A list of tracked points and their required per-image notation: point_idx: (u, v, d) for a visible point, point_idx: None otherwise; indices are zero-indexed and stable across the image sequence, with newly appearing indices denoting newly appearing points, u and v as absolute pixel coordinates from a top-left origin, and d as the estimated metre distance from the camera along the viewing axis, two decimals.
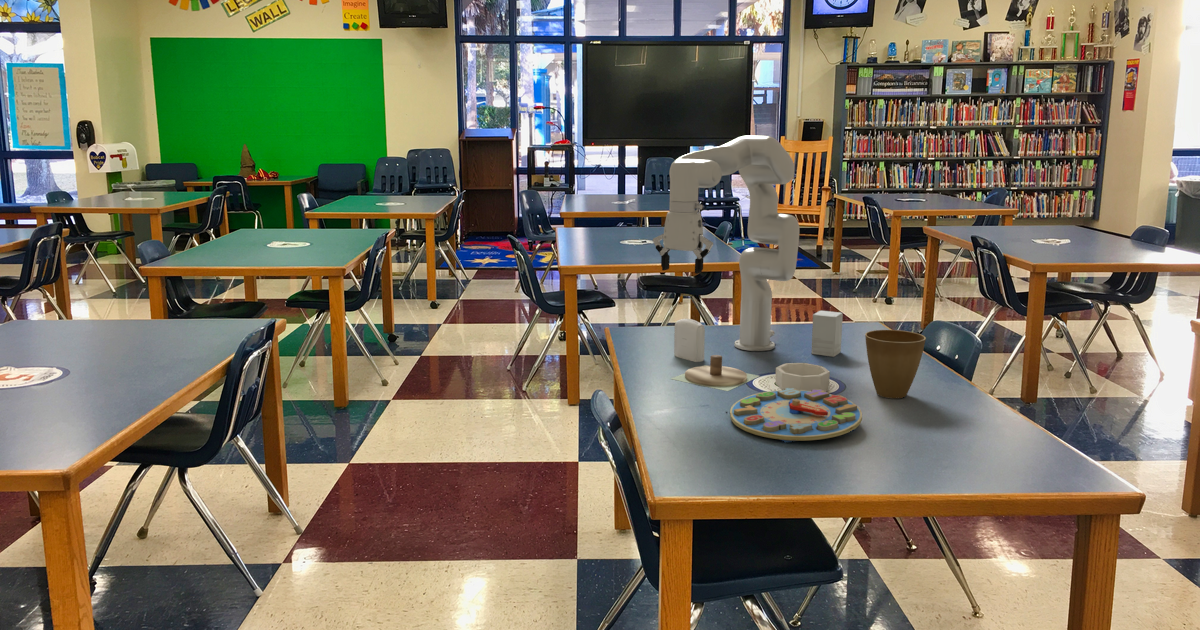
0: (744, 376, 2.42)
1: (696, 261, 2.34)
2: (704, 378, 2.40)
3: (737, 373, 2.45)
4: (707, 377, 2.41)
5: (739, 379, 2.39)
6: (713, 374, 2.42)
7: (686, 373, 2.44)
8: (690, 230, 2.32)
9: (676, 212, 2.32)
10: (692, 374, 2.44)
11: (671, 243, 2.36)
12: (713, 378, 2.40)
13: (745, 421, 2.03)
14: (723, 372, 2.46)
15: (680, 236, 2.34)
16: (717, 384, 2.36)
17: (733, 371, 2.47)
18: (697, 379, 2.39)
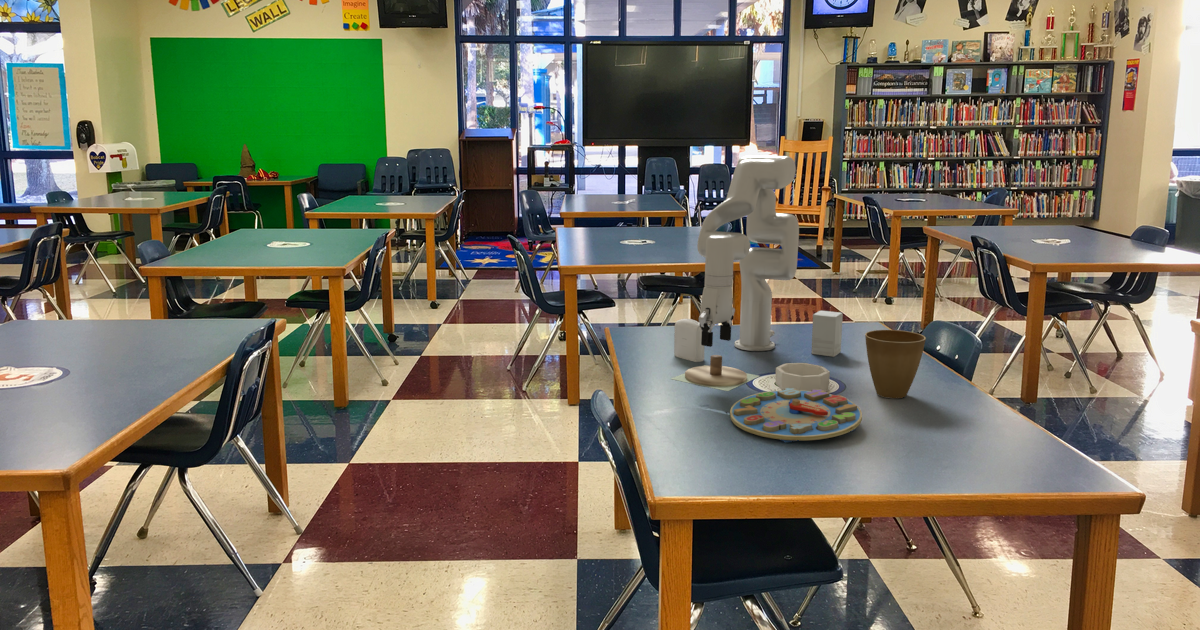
0: (744, 376, 2.42)
1: (730, 329, 2.44)
2: (704, 378, 2.40)
3: (737, 372, 2.45)
4: (707, 376, 2.41)
5: (739, 379, 2.39)
6: (713, 374, 2.42)
7: (686, 373, 2.44)
8: (731, 300, 2.40)
9: (729, 286, 2.36)
10: (692, 374, 2.44)
11: (720, 318, 2.37)
12: (713, 378, 2.40)
13: (745, 421, 2.03)
14: (723, 371, 2.46)
15: (726, 308, 2.38)
16: (717, 384, 2.36)
17: (733, 371, 2.47)
18: (697, 379, 2.39)
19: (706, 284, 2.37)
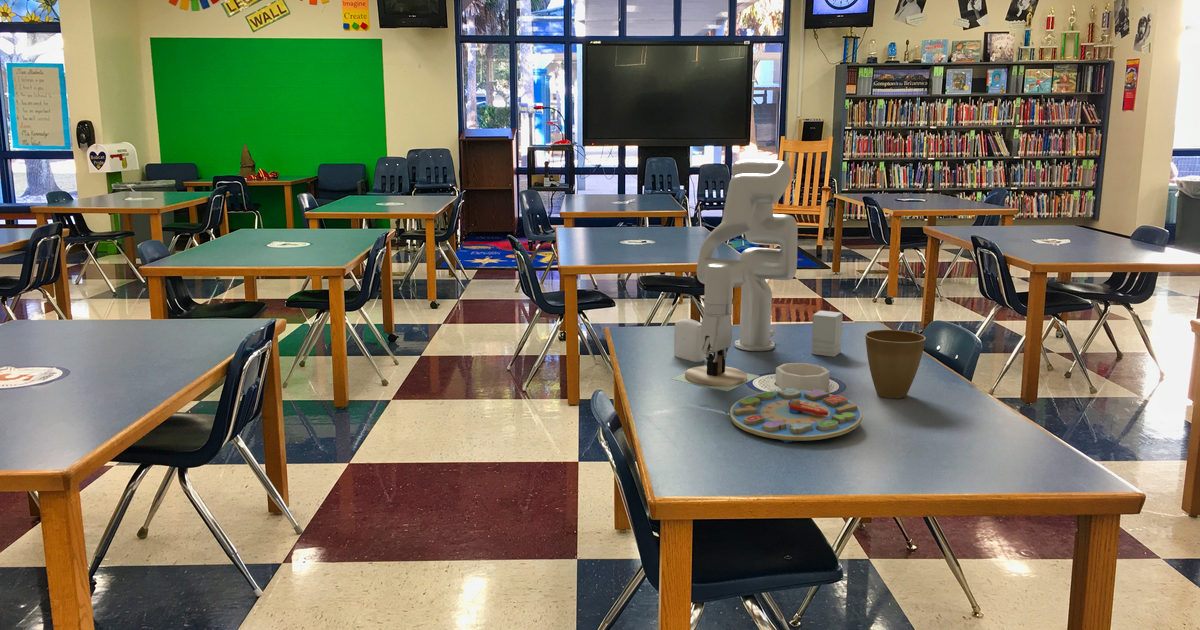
0: (744, 376, 2.42)
1: (724, 361, 2.44)
2: (705, 378, 2.40)
3: (737, 372, 2.45)
4: (707, 376, 2.41)
5: (739, 378, 2.39)
6: None
7: (686, 373, 2.44)
8: (730, 327, 2.42)
9: (729, 314, 2.38)
10: (692, 374, 2.44)
11: (719, 345, 2.39)
12: (713, 377, 2.40)
13: (745, 421, 2.03)
14: None
15: (725, 336, 2.40)
16: (717, 384, 2.36)
17: (733, 371, 2.47)
18: (697, 379, 2.39)
19: (705, 312, 2.39)
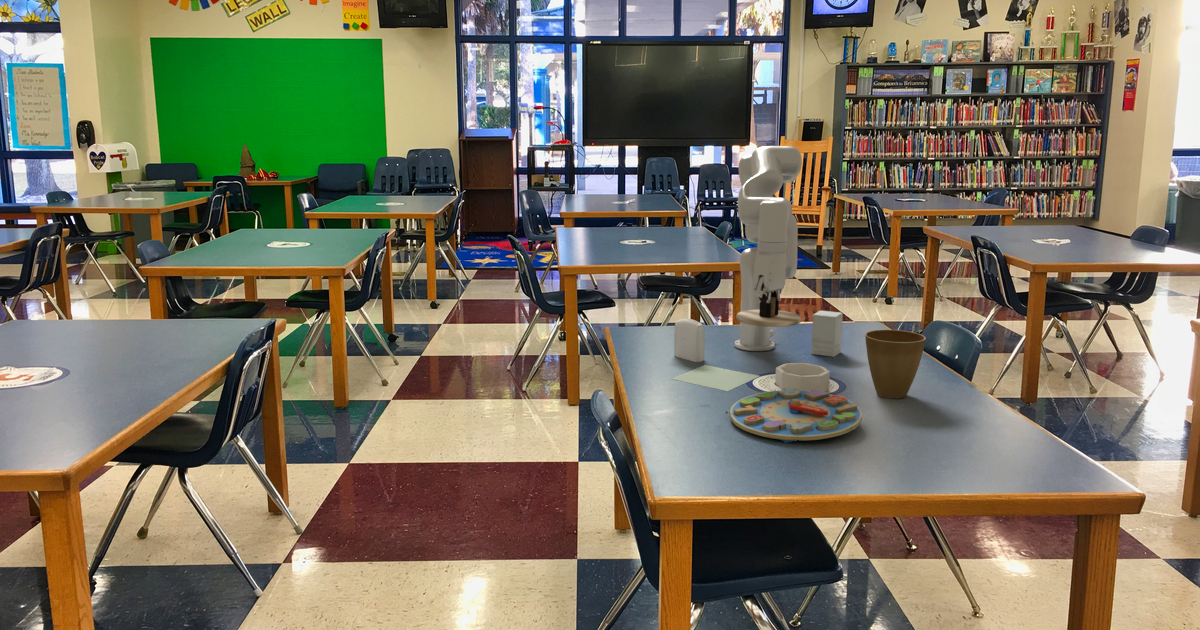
0: (798, 318, 2.33)
1: (778, 303, 2.36)
2: (757, 319, 2.32)
3: (790, 315, 2.37)
4: (760, 318, 2.33)
5: (793, 320, 2.31)
6: None
7: (738, 315, 2.37)
8: (784, 267, 2.34)
9: (783, 252, 2.30)
10: (744, 316, 2.36)
11: (773, 285, 2.31)
12: (767, 319, 2.32)
13: (745, 421, 2.03)
14: None
15: (779, 276, 2.32)
16: (771, 324, 2.28)
17: (787, 313, 2.39)
18: (750, 320, 2.31)
19: (759, 251, 2.31)
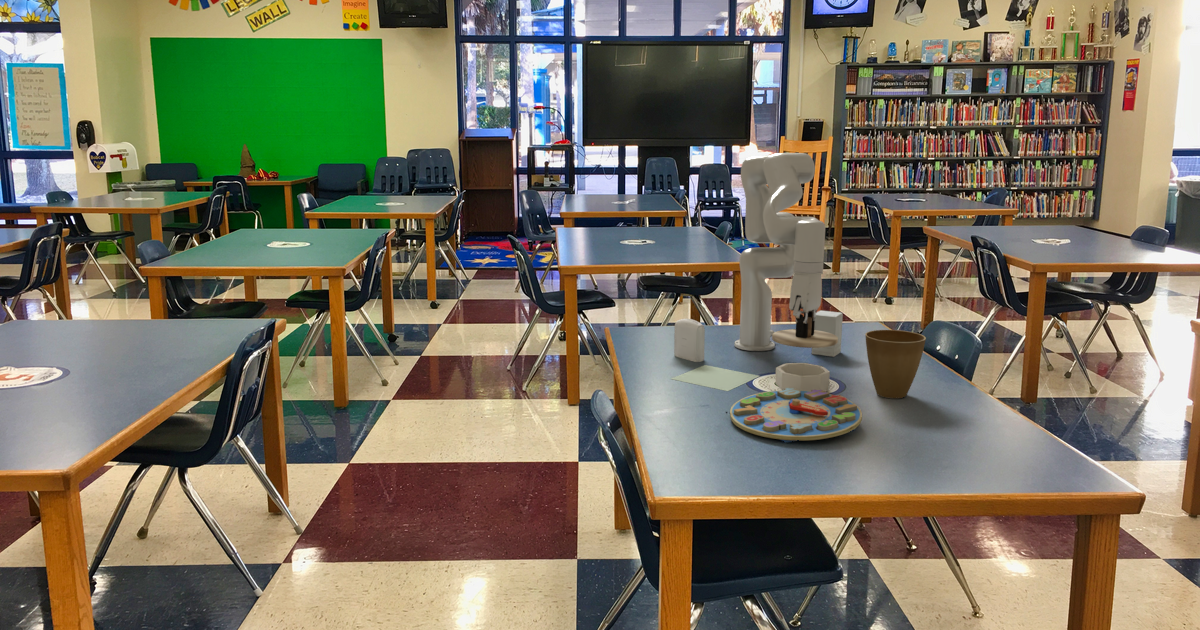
0: (835, 338, 2.32)
1: (813, 323, 2.34)
2: (795, 340, 2.30)
3: (826, 335, 2.35)
4: (797, 338, 2.31)
5: (831, 340, 2.29)
6: None
7: (774, 335, 2.34)
8: (820, 287, 2.32)
9: (820, 272, 2.28)
10: (780, 336, 2.34)
11: (810, 305, 2.29)
12: (804, 339, 2.30)
13: (745, 421, 2.03)
14: None
15: (816, 296, 2.30)
16: (809, 345, 2.26)
17: (822, 333, 2.37)
18: (788, 340, 2.29)
19: (796, 271, 2.29)
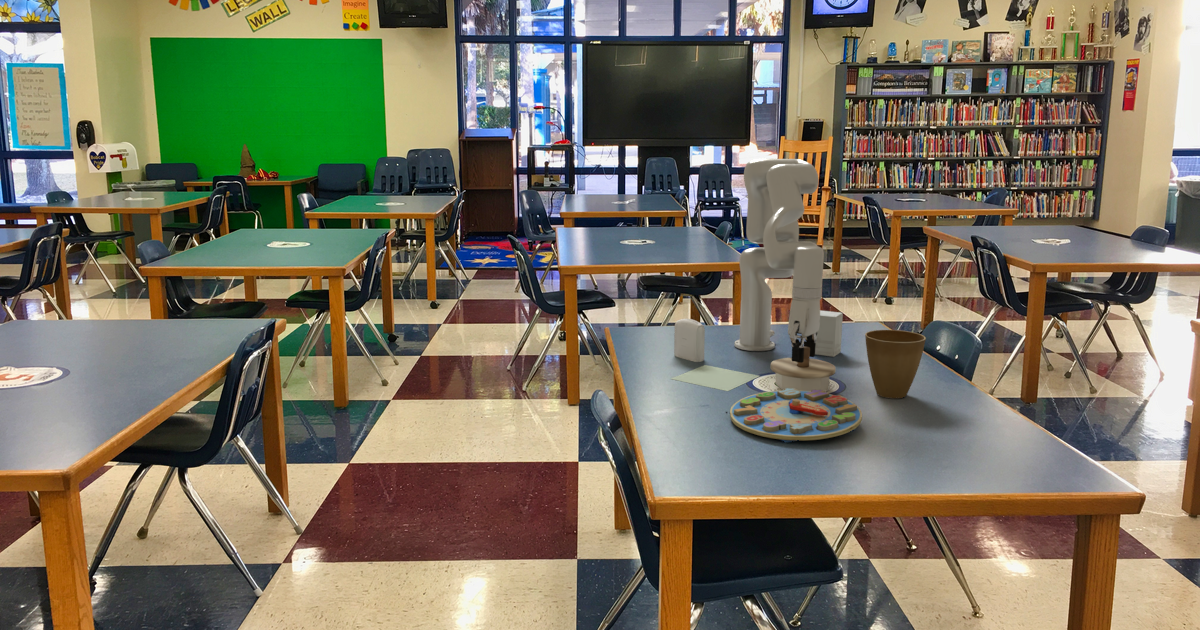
0: (833, 368, 2.34)
1: (814, 345, 2.36)
2: (793, 370, 2.32)
3: (824, 364, 2.37)
4: (795, 368, 2.33)
5: (829, 371, 2.31)
6: (801, 366, 2.35)
7: (772, 365, 2.36)
8: (819, 312, 2.34)
9: (819, 298, 2.29)
10: (778, 366, 2.36)
11: (808, 331, 2.31)
12: (802, 370, 2.32)
13: (745, 421, 2.03)
14: (809, 363, 2.38)
15: (814, 321, 2.32)
16: (807, 376, 2.28)
17: (820, 363, 2.39)
18: (786, 371, 2.31)
19: (794, 296, 2.30)
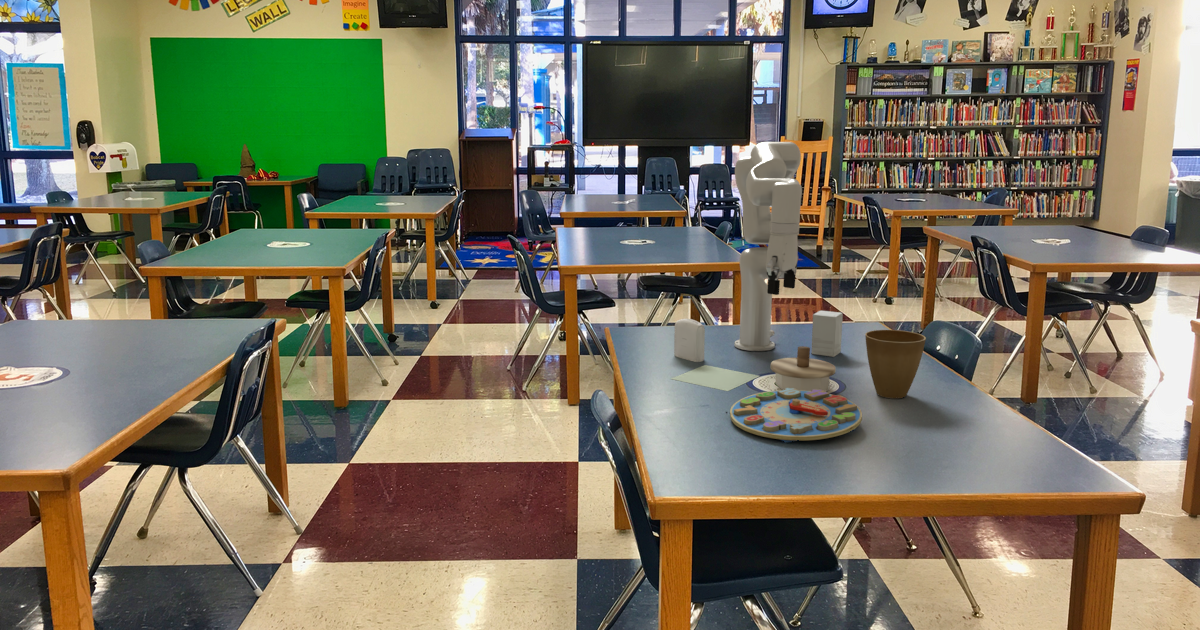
0: (833, 368, 2.34)
1: (794, 276, 2.42)
2: (793, 370, 2.32)
3: (824, 364, 2.37)
4: (795, 368, 2.33)
5: (829, 371, 2.31)
6: (801, 366, 2.35)
7: (772, 365, 2.36)
8: (796, 248, 2.38)
9: (796, 233, 2.33)
10: (778, 366, 2.36)
11: (786, 266, 2.35)
12: (802, 370, 2.32)
13: (745, 421, 2.03)
14: (809, 363, 2.38)
15: (792, 256, 2.36)
16: (807, 376, 2.28)
17: (820, 363, 2.39)
18: (786, 371, 2.31)
19: (772, 232, 2.34)
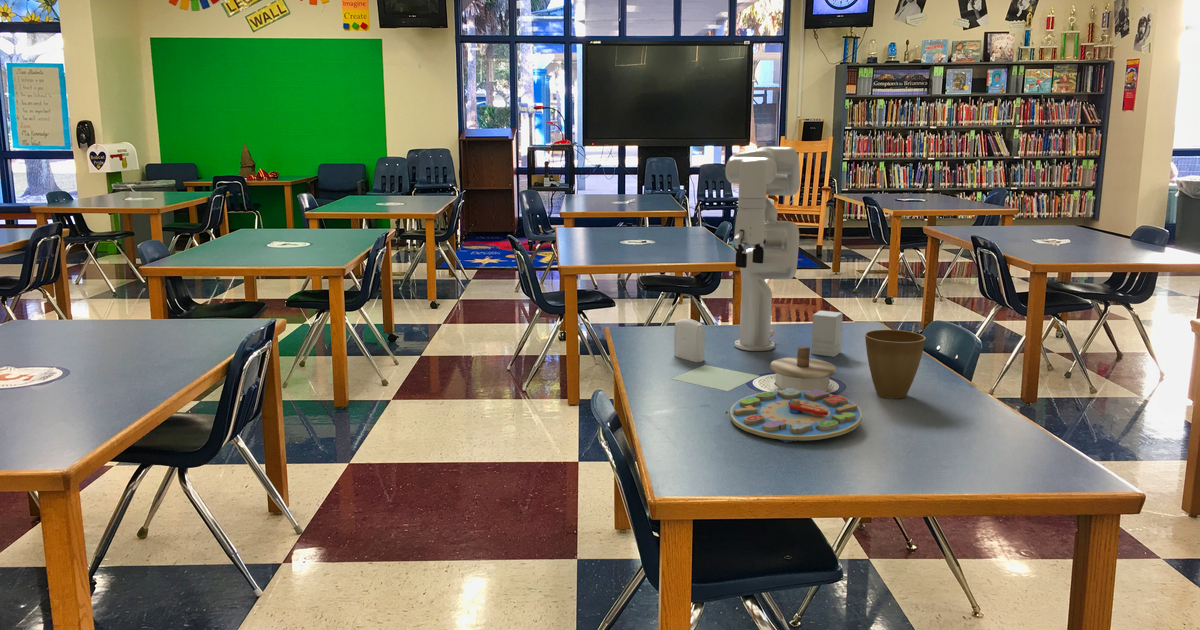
0: (833, 368, 2.34)
1: (763, 252, 2.51)
2: (793, 370, 2.32)
3: (824, 364, 2.37)
4: (795, 368, 2.33)
5: (829, 371, 2.31)
6: (801, 366, 2.35)
7: (772, 365, 2.36)
8: (764, 223, 2.47)
9: (763, 208, 2.43)
10: (778, 366, 2.36)
11: (753, 239, 2.44)
12: (802, 370, 2.32)
13: (745, 421, 2.03)
14: (809, 363, 2.38)
15: (759, 231, 2.45)
16: (807, 376, 2.28)
17: (820, 363, 2.39)
18: (786, 371, 2.31)
19: (740, 207, 2.44)
